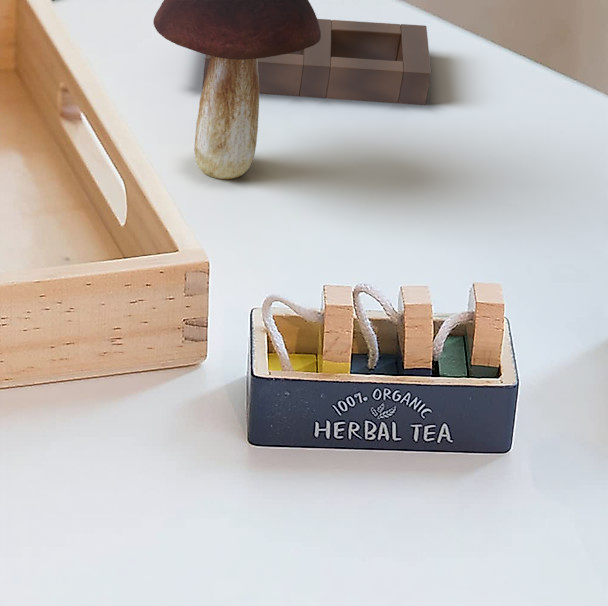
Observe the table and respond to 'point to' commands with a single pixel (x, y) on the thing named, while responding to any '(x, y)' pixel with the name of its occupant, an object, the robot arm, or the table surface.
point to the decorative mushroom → (234, 67)
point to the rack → (353, 64)
